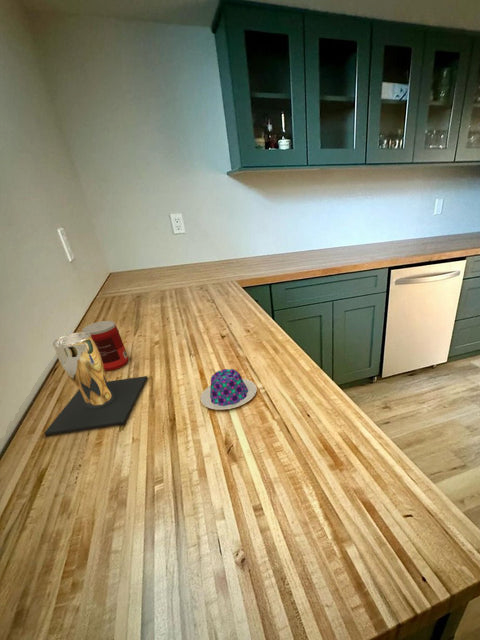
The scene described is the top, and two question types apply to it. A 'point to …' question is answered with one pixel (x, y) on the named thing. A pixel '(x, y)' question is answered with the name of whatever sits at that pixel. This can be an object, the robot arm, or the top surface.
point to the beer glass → (85, 368)
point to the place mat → (110, 415)
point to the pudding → (228, 390)
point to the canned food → (108, 344)
